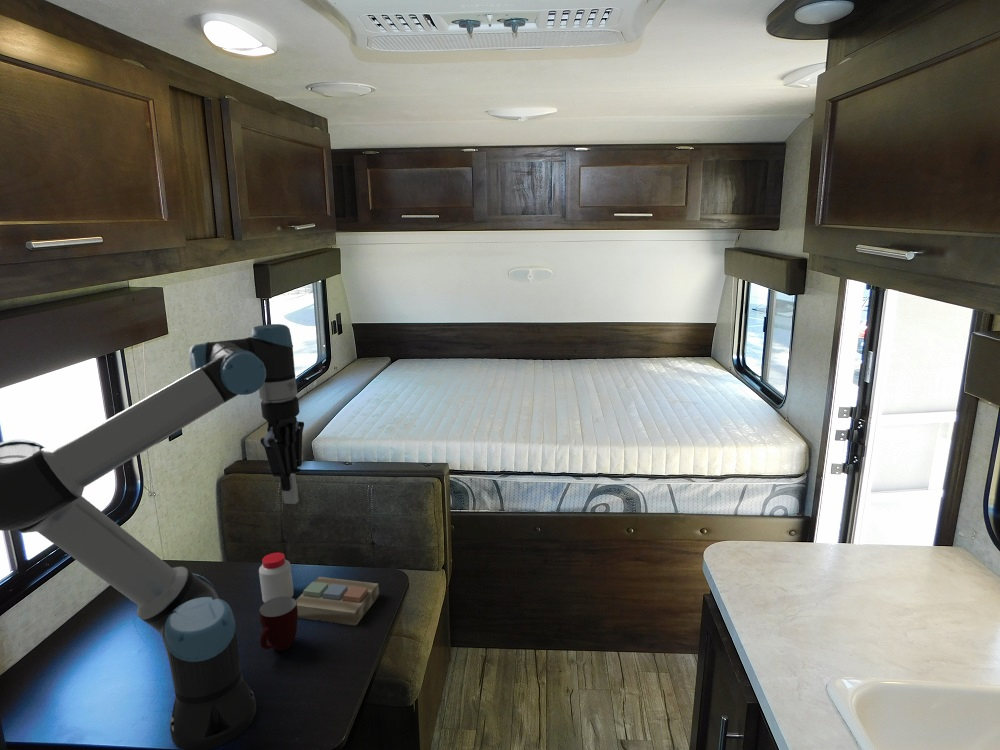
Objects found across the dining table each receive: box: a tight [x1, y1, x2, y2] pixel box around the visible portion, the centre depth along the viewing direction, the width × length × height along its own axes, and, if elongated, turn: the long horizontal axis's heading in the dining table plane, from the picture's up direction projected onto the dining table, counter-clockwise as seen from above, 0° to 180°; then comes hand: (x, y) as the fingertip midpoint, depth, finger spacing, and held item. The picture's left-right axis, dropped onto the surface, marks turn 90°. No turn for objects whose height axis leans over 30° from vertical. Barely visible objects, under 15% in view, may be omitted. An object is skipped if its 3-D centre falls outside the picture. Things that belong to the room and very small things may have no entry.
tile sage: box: [302, 581, 328, 598], centre depth 160 cm, size 4×4×3 cm
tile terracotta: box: [343, 586, 368, 603], centre depth 157 cm, size 4×4×3 cm
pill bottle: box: [258, 552, 295, 604], centre depth 163 cm, size 8×8×11 cm
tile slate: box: [323, 584, 348, 601], centre depth 158 cm, size 4×4×3 cm
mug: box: [258, 597, 298, 652], centre depth 142 cm, size 10×8×10 cm
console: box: [295, 576, 380, 626], centre depth 159 cm, size 13×17×3 cm
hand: (291, 502), depth 138 cm, fingers closed
